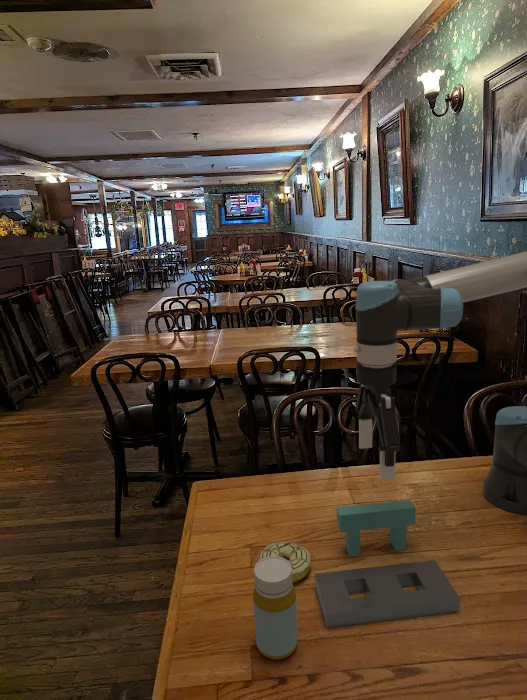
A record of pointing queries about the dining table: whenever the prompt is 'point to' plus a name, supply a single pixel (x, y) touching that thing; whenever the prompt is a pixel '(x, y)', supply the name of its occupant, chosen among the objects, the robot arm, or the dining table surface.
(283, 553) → the decorated donut
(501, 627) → the dining table surface
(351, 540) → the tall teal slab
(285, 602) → the bottle
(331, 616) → the slotted metal plate
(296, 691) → the dining table surface
